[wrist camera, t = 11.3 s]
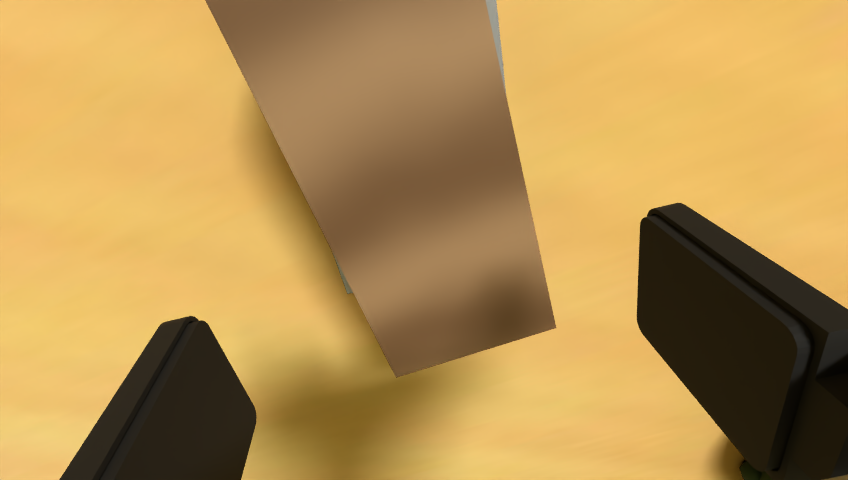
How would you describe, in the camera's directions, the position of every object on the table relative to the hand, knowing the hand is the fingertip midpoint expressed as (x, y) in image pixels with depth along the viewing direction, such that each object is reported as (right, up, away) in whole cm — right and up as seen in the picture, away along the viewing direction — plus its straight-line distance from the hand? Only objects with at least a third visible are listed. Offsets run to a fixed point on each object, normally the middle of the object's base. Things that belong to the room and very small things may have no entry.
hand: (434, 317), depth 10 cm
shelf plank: (-1, +5, +9) cm, 10 cm away
